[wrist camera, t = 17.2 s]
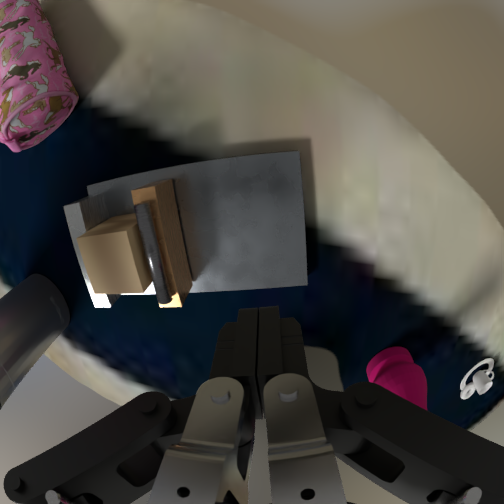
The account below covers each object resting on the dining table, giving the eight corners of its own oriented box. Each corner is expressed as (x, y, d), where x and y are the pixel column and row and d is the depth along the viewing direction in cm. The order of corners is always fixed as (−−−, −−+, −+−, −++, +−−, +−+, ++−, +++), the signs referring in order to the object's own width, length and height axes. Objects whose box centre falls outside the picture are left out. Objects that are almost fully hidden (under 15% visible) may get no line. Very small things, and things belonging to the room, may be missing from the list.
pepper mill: (381, 338, 29) (437, 487, 11) (422, 346, 30) (481, 471, 11) (352, 378, 32) (381, 516, 14) (393, 383, 32) (431, 503, 14)
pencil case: (7, 48, 17) (-36, 44, 9) (49, -1, 15) (6, -16, 7) (48, 153, 23) (-9, 166, 15) (99, 96, 21) (40, 89, 13)
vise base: (122, 288, 29) (98, 315, 24) (94, 183, 24) (61, 195, 19) (305, 277, 27) (312, 309, 22) (297, 150, 22) (305, 152, 17)
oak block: (124, 264, 26) (94, 294, 20) (112, 216, 24) (76, 238, 19) (168, 261, 25) (143, 293, 20) (157, 209, 24) (126, 230, 18)
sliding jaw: (173, 285, 26) (155, 314, 21) (150, 182, 22) (123, 193, 18) (192, 284, 26) (177, 314, 21) (171, 178, 22) (147, 189, 18)
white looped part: (461, 396, 35) (468, 411, 31) (450, 383, 33) (459, 400, 30) (495, 366, 32) (504, 380, 28) (488, 349, 31) (499, 364, 27)
